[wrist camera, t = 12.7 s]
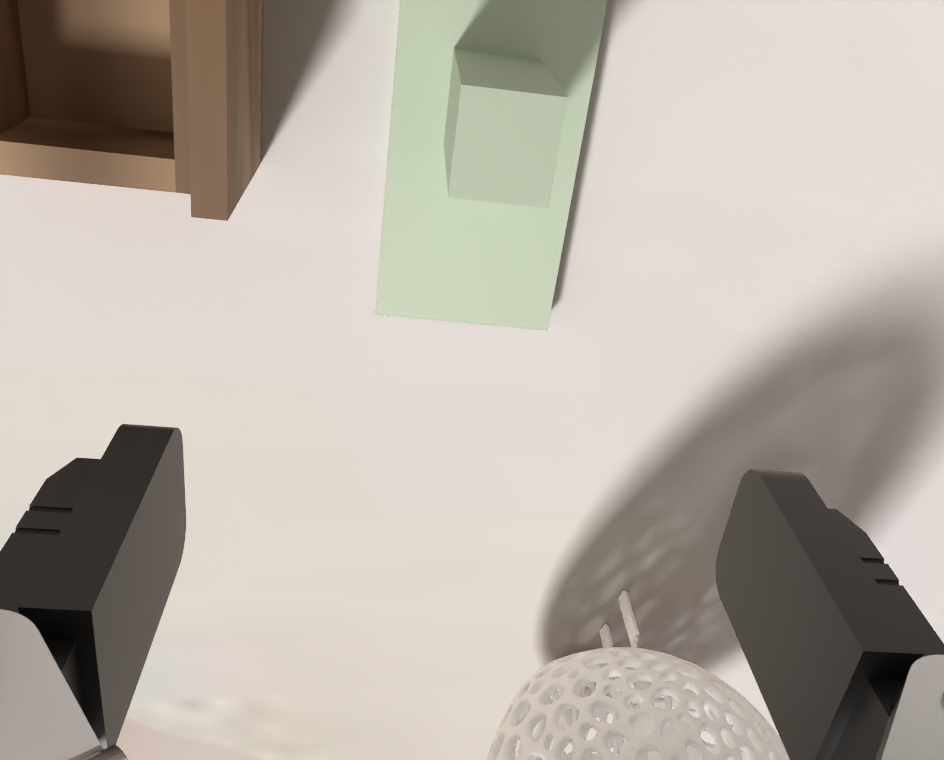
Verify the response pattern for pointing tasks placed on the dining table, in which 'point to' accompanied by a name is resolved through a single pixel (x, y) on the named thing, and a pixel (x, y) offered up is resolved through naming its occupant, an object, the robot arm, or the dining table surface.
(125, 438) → the robot arm
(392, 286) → the lid
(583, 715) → the decorative heart
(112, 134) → the box
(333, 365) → the dining table surface
